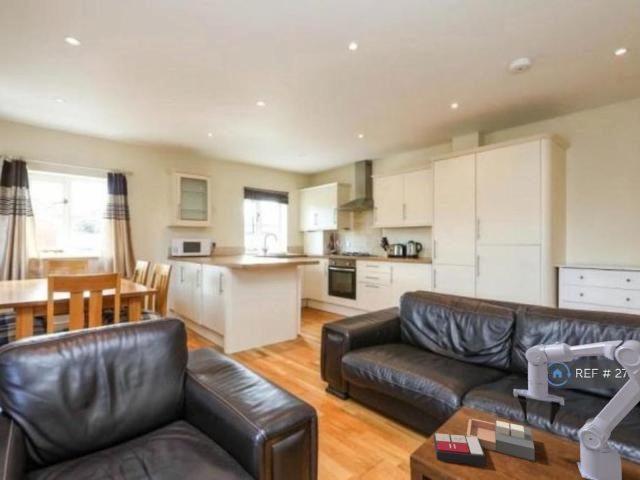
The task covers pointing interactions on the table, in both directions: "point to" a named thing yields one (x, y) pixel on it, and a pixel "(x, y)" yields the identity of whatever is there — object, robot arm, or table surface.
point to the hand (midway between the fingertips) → (538, 420)
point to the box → (482, 433)
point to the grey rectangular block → (516, 444)
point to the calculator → (459, 449)
